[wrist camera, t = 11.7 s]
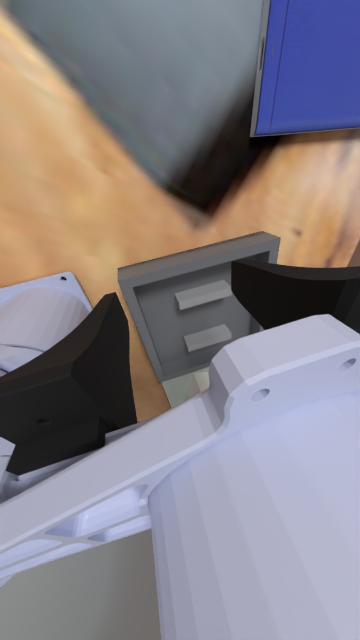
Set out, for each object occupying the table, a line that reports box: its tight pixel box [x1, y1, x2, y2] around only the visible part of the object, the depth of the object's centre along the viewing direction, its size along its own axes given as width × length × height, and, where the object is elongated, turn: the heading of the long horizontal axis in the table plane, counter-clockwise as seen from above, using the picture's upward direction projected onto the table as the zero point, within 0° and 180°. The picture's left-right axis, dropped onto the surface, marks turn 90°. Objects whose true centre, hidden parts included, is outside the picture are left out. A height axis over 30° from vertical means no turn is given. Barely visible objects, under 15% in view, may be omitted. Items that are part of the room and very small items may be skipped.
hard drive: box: [250, 0, 360, 137], centre depth 14 cm, size 2×8×12 cm
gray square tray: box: [118, 231, 280, 383], centre depth 24 cm, size 16×16×3 cm
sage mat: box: [161, 367, 210, 408], centre depth 34 cm, size 12×12×1 cm
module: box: [185, 372, 210, 399], centre depth 32 cm, size 4×5×5 cm
